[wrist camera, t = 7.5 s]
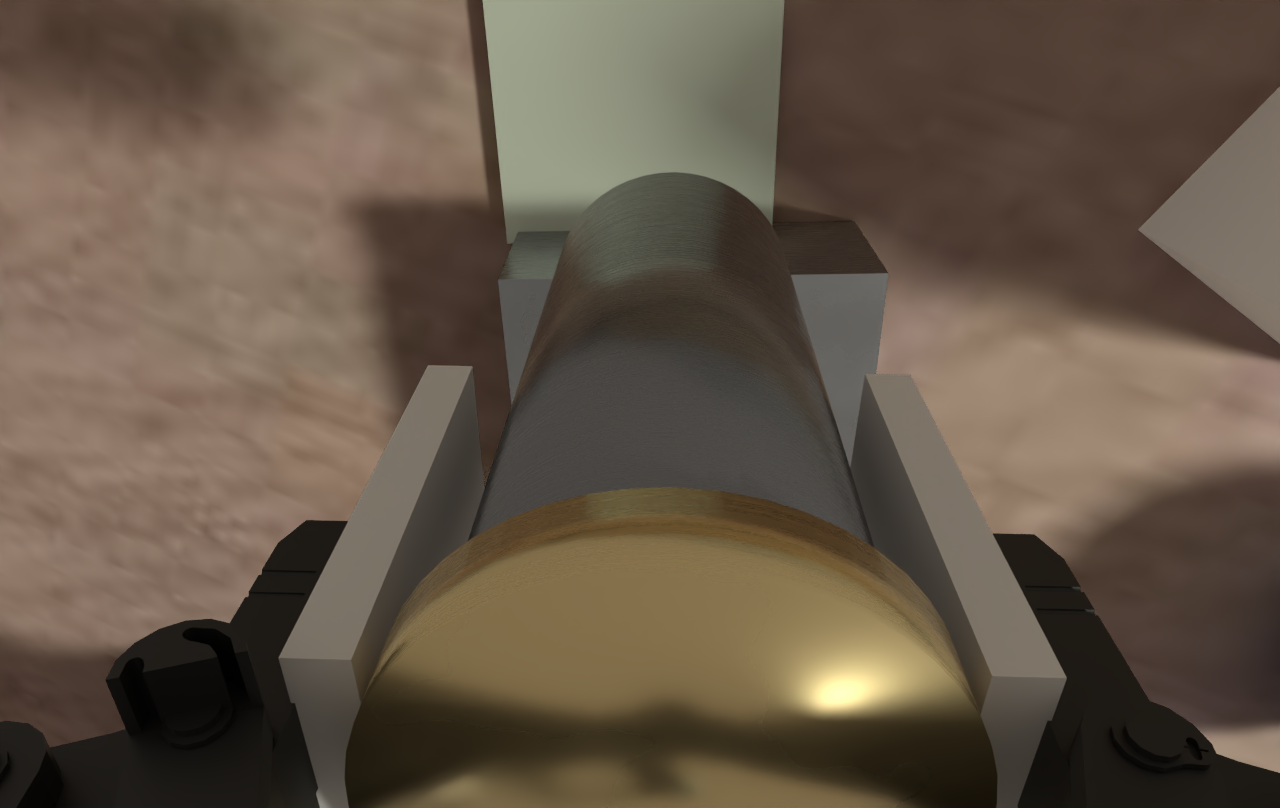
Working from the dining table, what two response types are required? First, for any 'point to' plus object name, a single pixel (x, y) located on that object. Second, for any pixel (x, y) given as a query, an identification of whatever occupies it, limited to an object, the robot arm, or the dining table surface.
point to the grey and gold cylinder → (670, 563)
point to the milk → (1232, 220)
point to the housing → (825, 286)
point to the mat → (630, 99)
